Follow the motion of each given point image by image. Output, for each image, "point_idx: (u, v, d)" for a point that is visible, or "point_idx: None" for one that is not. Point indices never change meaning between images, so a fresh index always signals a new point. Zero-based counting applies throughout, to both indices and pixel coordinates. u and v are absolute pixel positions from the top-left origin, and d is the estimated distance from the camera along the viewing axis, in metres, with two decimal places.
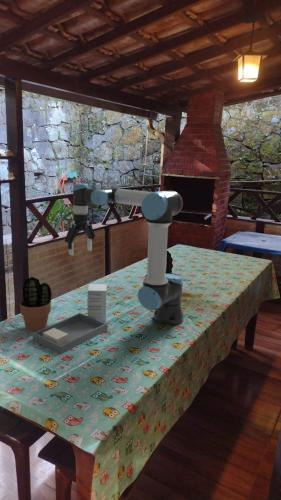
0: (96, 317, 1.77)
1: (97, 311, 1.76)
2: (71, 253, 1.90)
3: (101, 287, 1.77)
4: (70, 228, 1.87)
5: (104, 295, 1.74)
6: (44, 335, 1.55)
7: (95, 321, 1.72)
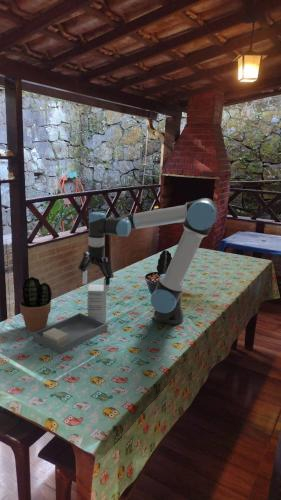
0: (96, 317, 1.77)
1: (97, 311, 1.76)
2: None
3: (101, 288, 1.77)
4: None
5: (104, 295, 1.75)
6: (44, 335, 1.55)
7: (95, 321, 1.72)
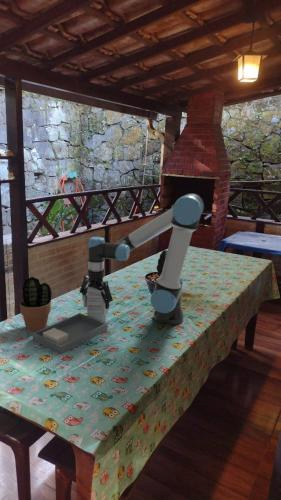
0: (96, 317, 1.77)
1: (96, 310, 1.76)
2: None
3: (100, 287, 1.77)
4: None
5: None
6: (44, 335, 1.55)
7: (95, 321, 1.72)
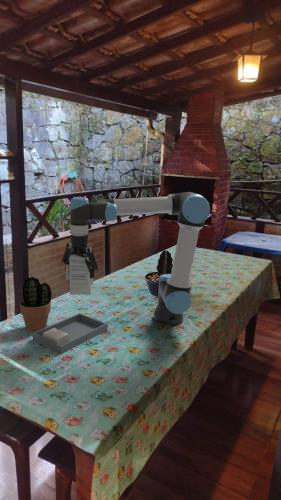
0: (79, 288, 1.58)
1: (80, 281, 1.57)
2: None
3: None
4: None
5: None
6: (44, 335, 1.55)
7: (95, 321, 1.72)
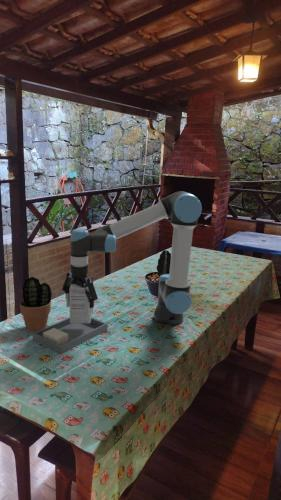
0: (79, 317, 1.61)
1: (80, 310, 1.61)
2: None
3: None
4: None
5: None
6: (44, 335, 1.55)
7: (95, 321, 1.72)
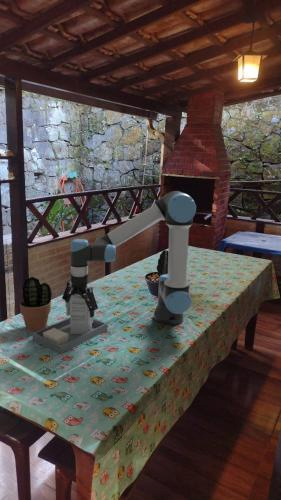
0: (80, 328, 1.63)
1: (80, 321, 1.62)
2: None
3: None
4: None
5: None
6: (44, 335, 1.55)
7: (95, 321, 1.72)
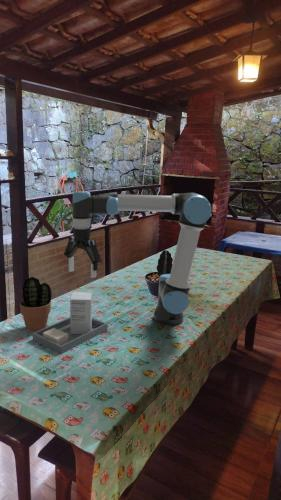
0: (80, 328, 1.63)
1: (80, 321, 1.62)
2: None
3: (85, 296, 1.63)
4: None
5: (88, 304, 1.60)
6: (44, 335, 1.55)
7: (95, 321, 1.72)
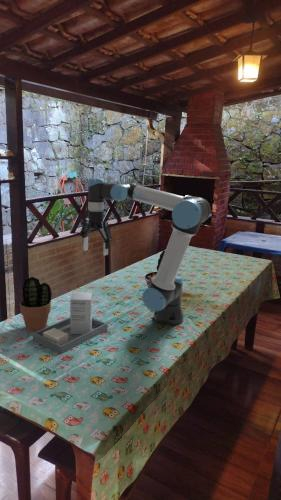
0: (80, 328, 1.63)
1: (80, 321, 1.62)
2: None
3: (85, 296, 1.63)
4: None
5: (88, 304, 1.60)
6: (44, 335, 1.55)
7: (95, 321, 1.72)
